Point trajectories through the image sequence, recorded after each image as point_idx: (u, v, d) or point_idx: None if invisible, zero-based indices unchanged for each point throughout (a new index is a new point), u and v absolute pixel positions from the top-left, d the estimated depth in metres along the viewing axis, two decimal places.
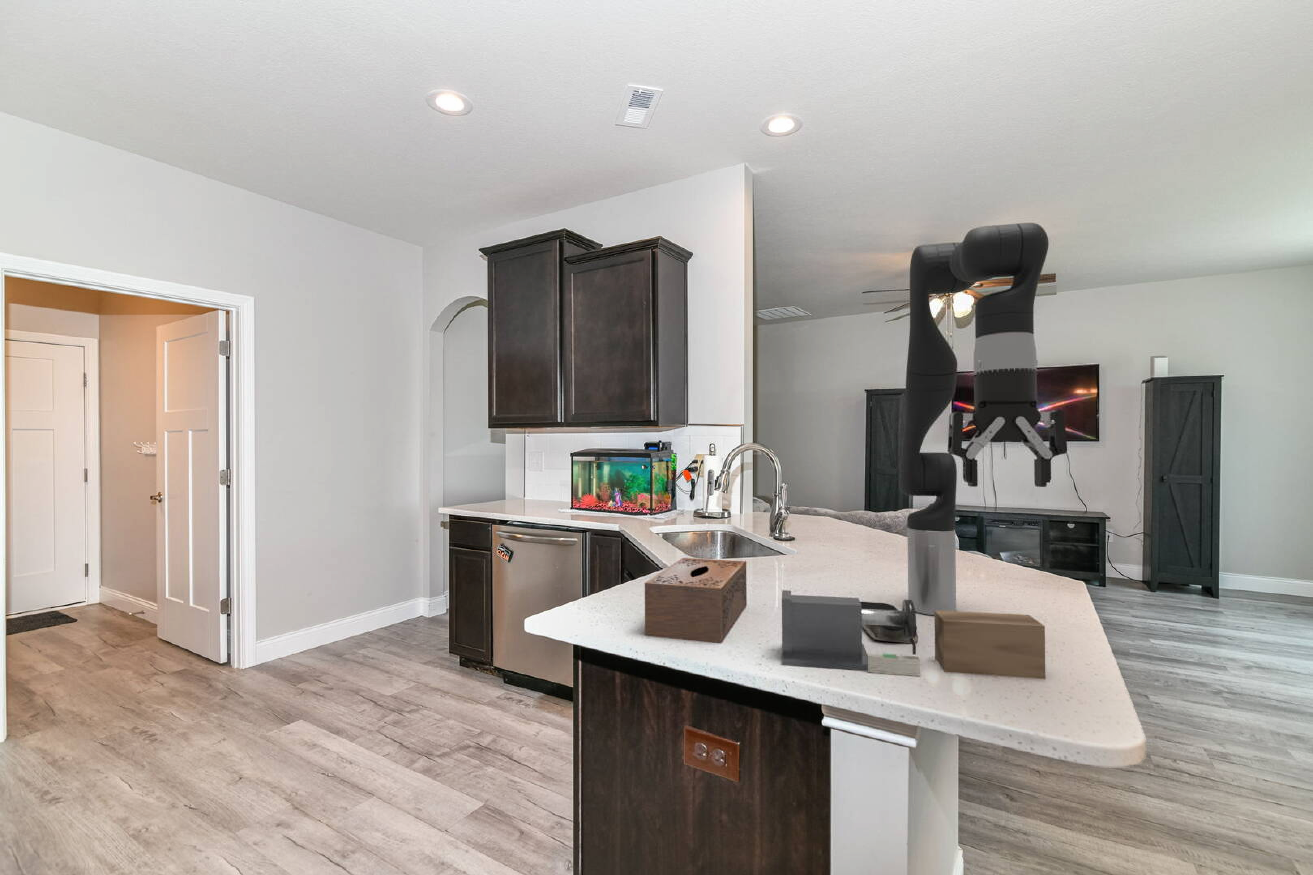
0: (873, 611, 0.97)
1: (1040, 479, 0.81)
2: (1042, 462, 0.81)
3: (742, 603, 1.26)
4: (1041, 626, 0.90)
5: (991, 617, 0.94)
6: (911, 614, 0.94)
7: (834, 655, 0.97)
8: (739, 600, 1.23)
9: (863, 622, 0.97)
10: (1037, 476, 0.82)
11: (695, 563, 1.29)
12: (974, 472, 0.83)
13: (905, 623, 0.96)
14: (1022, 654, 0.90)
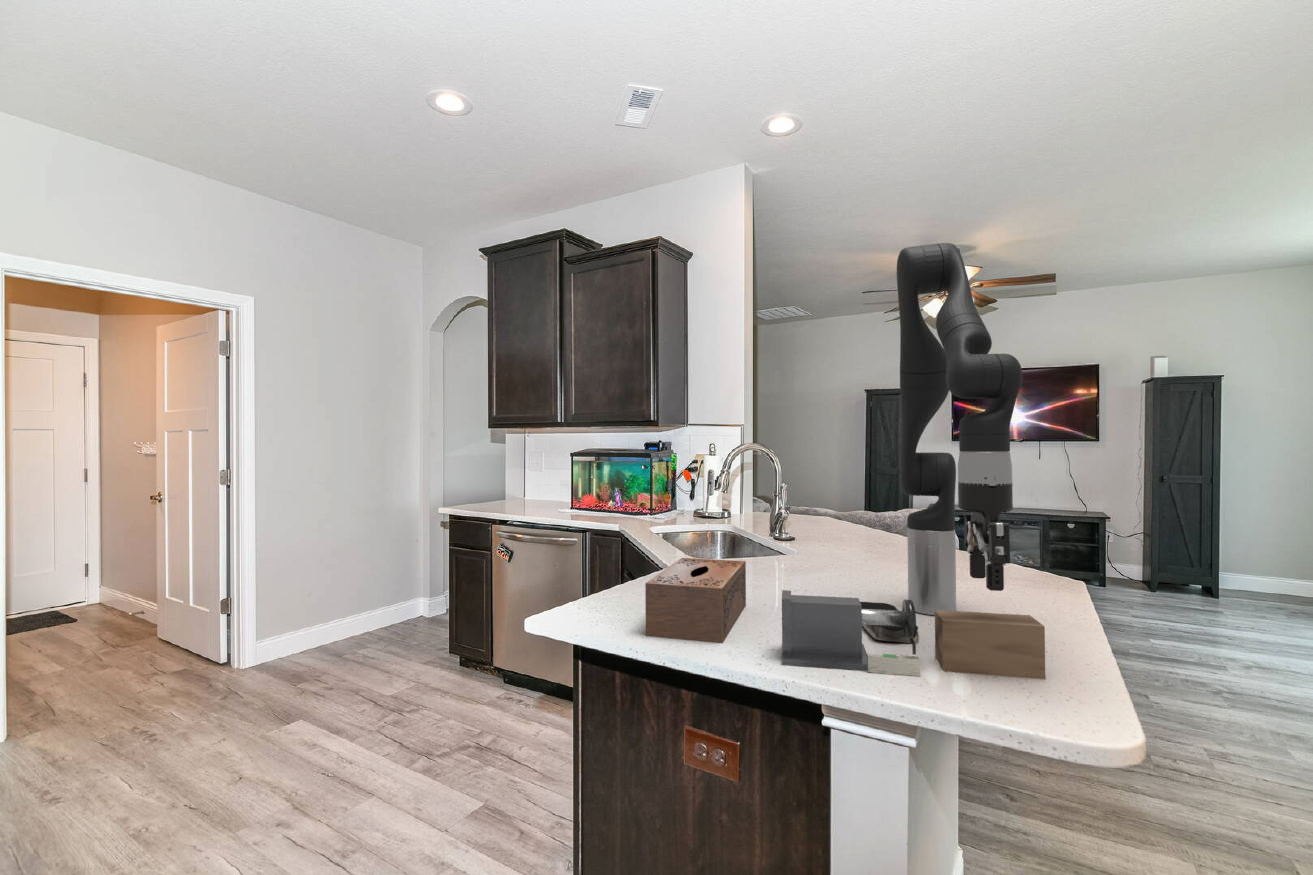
0: (873, 611, 0.97)
1: (984, 572, 0.98)
2: (984, 557, 0.98)
3: (742, 603, 1.26)
4: (1041, 626, 0.90)
5: (991, 617, 0.94)
6: (911, 614, 0.94)
7: (834, 655, 0.97)
8: (739, 600, 1.23)
9: (863, 622, 0.97)
10: (977, 569, 0.98)
11: (695, 563, 1.29)
12: None
13: (905, 623, 0.96)
14: (1022, 655, 0.90)
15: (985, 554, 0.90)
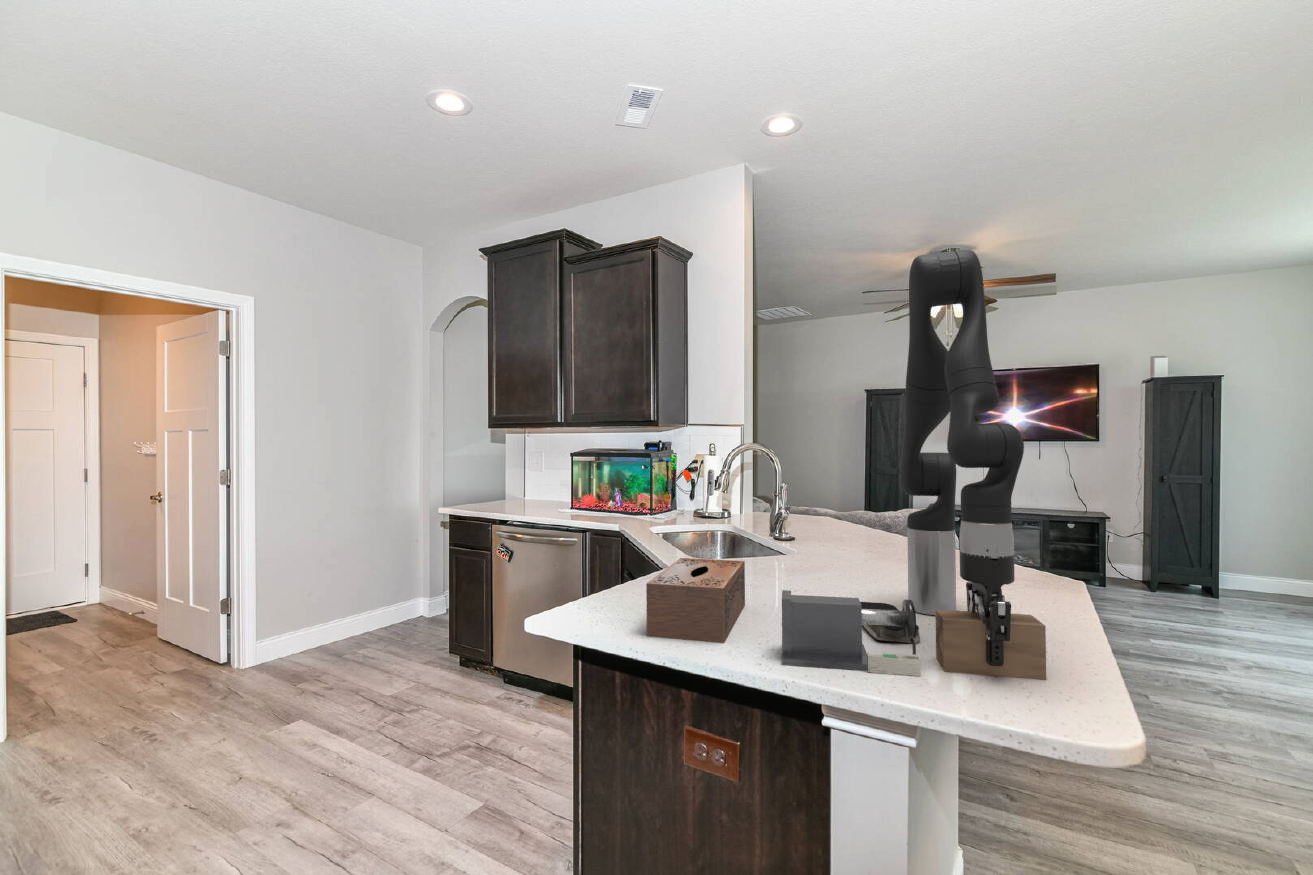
0: (873, 611, 0.97)
1: None
2: None
3: (741, 603, 1.26)
4: (1042, 626, 0.89)
5: None
6: (911, 614, 0.94)
7: (834, 655, 0.97)
8: (739, 600, 1.23)
9: (863, 622, 0.97)
10: None
11: (694, 563, 1.29)
12: None
13: (905, 623, 0.96)
14: (1023, 654, 0.90)
15: (985, 629, 0.91)
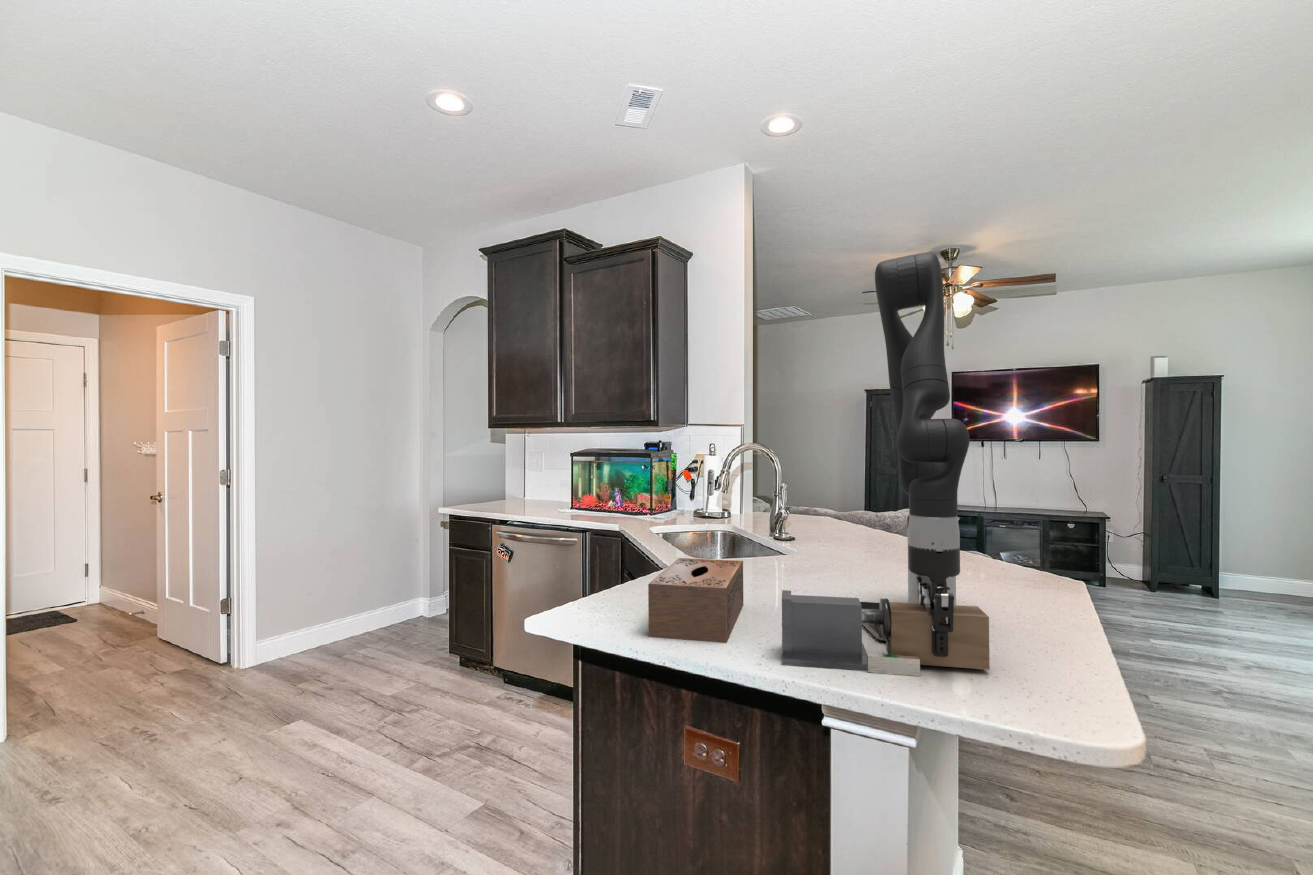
0: None
1: None
2: None
3: (740, 602, 1.27)
4: (985, 617, 0.91)
5: None
6: (887, 612, 0.95)
7: (834, 655, 0.97)
8: (738, 599, 1.24)
9: None
10: None
11: (693, 563, 1.29)
12: (947, 643, 0.92)
13: (881, 622, 0.96)
14: (967, 645, 0.92)
15: (931, 620, 0.93)
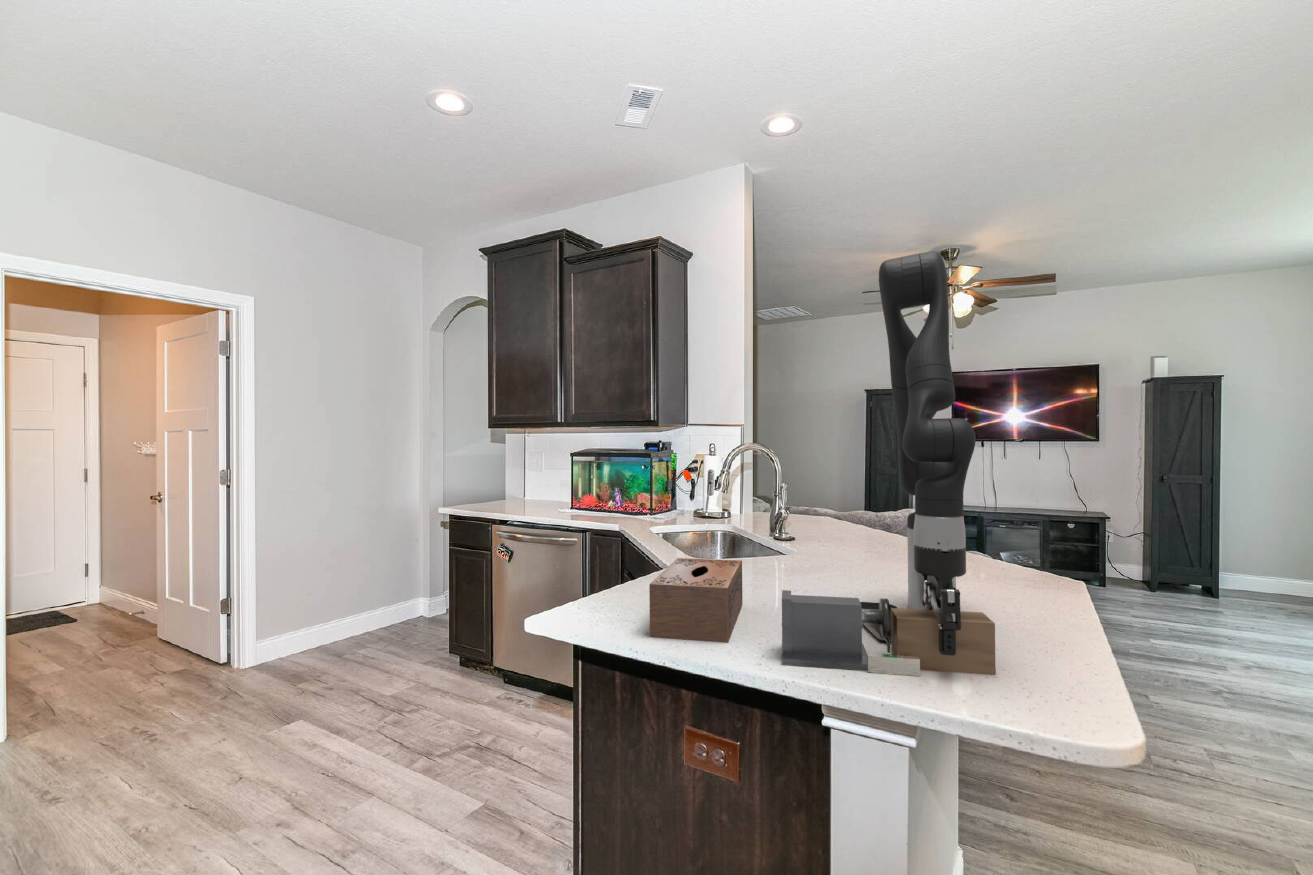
0: None
1: None
2: None
3: (740, 602, 1.27)
4: (991, 623, 0.91)
5: None
6: (886, 612, 0.95)
7: (834, 655, 0.97)
8: (738, 599, 1.24)
9: None
10: None
11: (692, 563, 1.29)
12: None
13: (881, 622, 0.96)
14: (973, 651, 0.92)
15: (938, 619, 0.92)
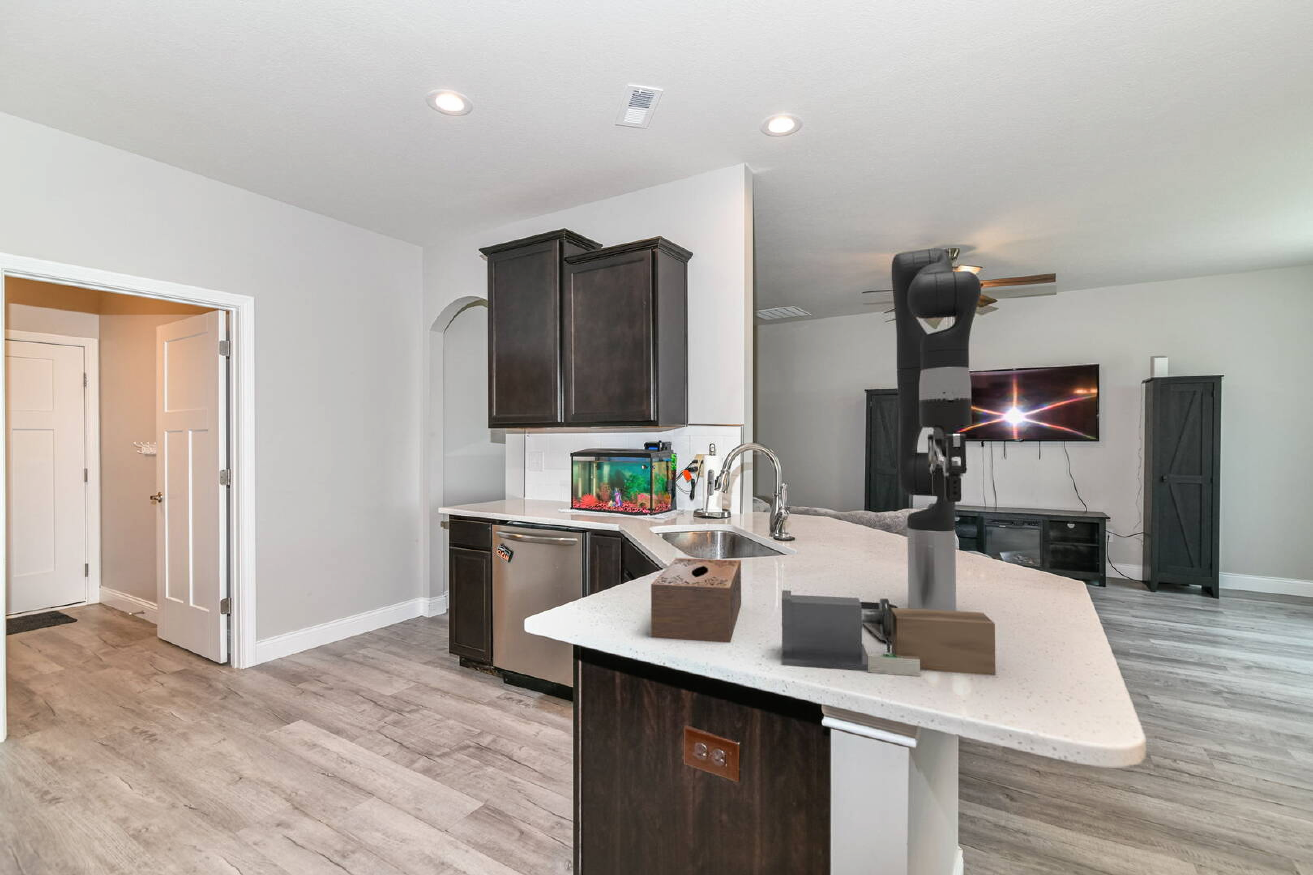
0: None
1: None
2: None
3: (739, 602, 1.27)
4: (991, 623, 0.91)
5: (945, 614, 0.96)
6: (886, 612, 0.95)
7: (834, 655, 0.97)
8: None
9: None
10: (939, 487, 1.00)
11: (691, 563, 1.29)
12: None
13: (881, 622, 0.96)
14: (973, 651, 0.92)
15: (943, 467, 0.92)
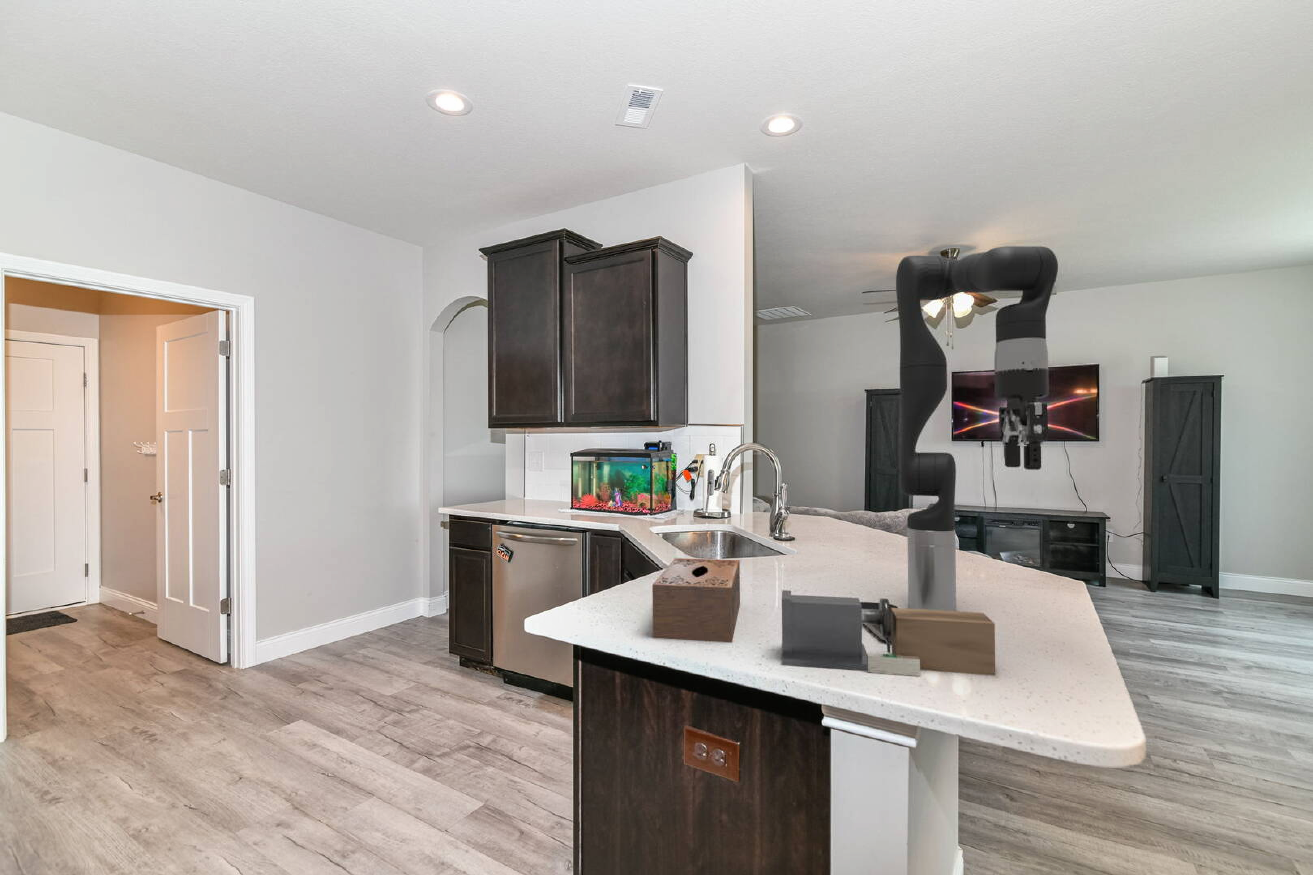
0: None
1: (1019, 461, 1.01)
2: None
3: (738, 601, 1.27)
4: (991, 624, 0.91)
5: (945, 615, 0.96)
6: (886, 612, 0.95)
7: (834, 655, 0.97)
8: (737, 599, 1.24)
9: None
10: (1012, 458, 1.02)
11: (691, 563, 1.29)
12: None
13: (881, 622, 0.96)
14: (973, 651, 0.92)
15: (1023, 435, 0.94)
